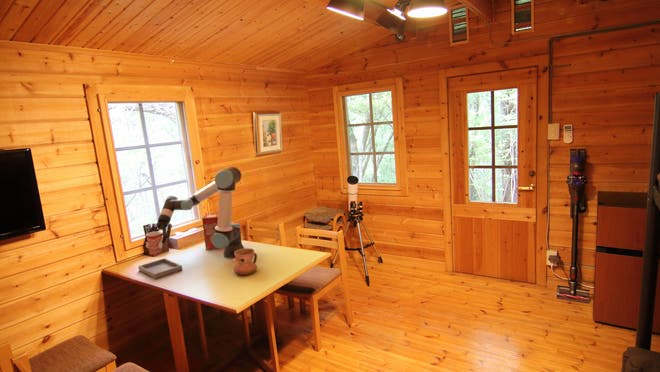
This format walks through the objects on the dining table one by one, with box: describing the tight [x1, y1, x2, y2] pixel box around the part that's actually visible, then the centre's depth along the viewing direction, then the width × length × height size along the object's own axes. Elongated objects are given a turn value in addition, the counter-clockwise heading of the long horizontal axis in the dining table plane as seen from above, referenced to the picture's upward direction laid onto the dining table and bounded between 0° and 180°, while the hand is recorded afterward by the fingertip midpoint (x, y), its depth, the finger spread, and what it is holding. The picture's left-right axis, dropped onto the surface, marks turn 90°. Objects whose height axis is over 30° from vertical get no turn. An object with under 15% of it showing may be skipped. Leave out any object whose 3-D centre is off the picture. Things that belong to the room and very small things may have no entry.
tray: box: [138, 257, 183, 280], centre depth 263 cm, size 24×18×4 cm
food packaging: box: [201, 213, 220, 251], centre depth 303 cm, size 13×9×25 cm
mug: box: [145, 231, 167, 256], centre depth 260 cm, size 13×9×14 cm
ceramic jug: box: [232, 247, 258, 276], centre depth 251 cm, size 18×14×14 cm
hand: (153, 247), depth 257 cm, fingers closed on mug, 8 cm apart
